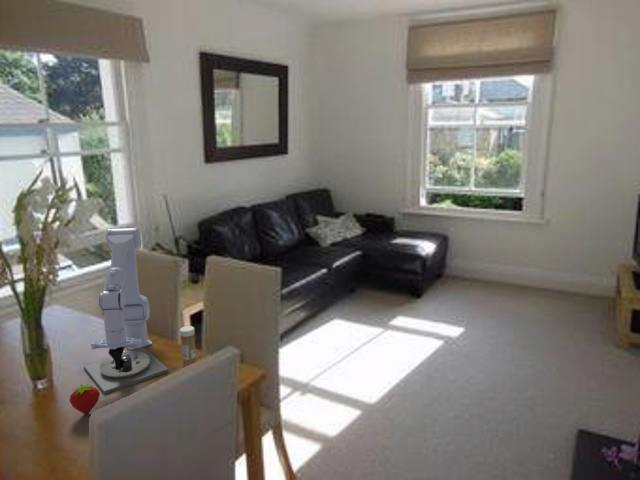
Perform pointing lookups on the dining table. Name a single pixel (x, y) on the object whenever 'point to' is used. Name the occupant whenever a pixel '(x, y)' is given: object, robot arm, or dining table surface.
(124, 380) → the charcoal board
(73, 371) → the dining table surface
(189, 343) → the sprinkles bottle
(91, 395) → the strawberry
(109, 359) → the flange plate
